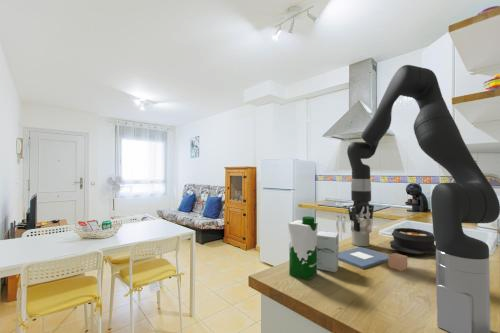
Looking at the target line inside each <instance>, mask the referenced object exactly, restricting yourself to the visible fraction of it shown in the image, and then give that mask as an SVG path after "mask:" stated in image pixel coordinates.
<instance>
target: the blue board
mask: <svg viewBox="0 0 500 333" xmlns="http://www.w3.org/2000/svg"><path fill="white" fill-rule="evenodd" d="M388 255H389V254H386V253H383V252H382V253H381V252H379V251H375V250H373V249H370V248H365V247H360V246H357V247H354V248H351V249H347V250H346V249H345V250H342V251H339V253H338V261H341V262H344V263H345V264H349V265H351V266H354V267H356V268H359V269H362V270H364V269H367V268H368V269H369V268H370V267H374V266H376V265H381V264H384V263H386V262H387V263H388Z"/></svg>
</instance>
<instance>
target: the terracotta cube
mask: <svg viewBox="0 0 500 333" xmlns="http://www.w3.org/2000/svg"><path fill="white" fill-rule="evenodd" d="M387 255H388V261H387V263H388V268H391V269H395V270H397V271H399V272H400V271H401V272H402V271H404V270H408V267H409V266H408V255H403V254H400V253H397V252H394V253H389V254H387Z"/></svg>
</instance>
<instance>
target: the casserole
mask: <svg viewBox="0 0 500 333" xmlns="http://www.w3.org/2000/svg"><path fill="white" fill-rule="evenodd" d="M391 235H392V238H393V239H392V240H391V241H389V244H390V248H391V249H393V250H396V251H398V252H402V253H407V254H414V255H422V254H424V255H425V254H433V253H436V242H435V238H434V234H433V232H430V231H427V230H425V229H424V230H423V229H418V228H417V229H416V228H408V227H402V228H401V227H399V228H394V229H393V231H392V233H391Z"/></svg>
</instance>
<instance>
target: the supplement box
mask: <svg viewBox="0 0 500 333" xmlns="http://www.w3.org/2000/svg"><path fill="white" fill-rule="evenodd" d="M339 235H340V233H339V232H338V233H337V232H332V231H330V232H329V231H322V230H318V231H317V270H323V271H328V272H331V273H332V272H333V273H337V271H338V268H339V260H338V253H339V252H340V251H339V250H340V249H339Z"/></svg>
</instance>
